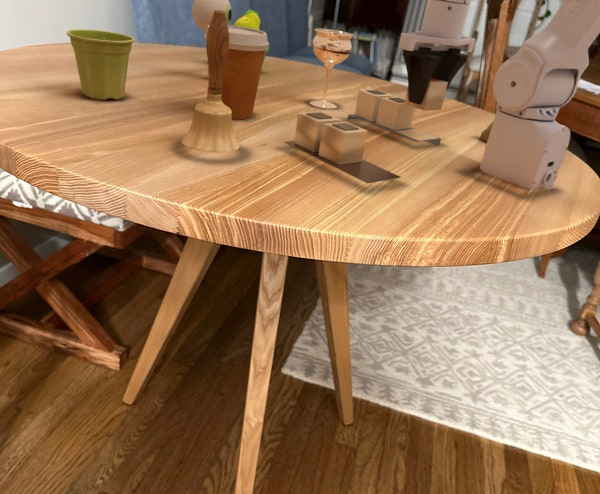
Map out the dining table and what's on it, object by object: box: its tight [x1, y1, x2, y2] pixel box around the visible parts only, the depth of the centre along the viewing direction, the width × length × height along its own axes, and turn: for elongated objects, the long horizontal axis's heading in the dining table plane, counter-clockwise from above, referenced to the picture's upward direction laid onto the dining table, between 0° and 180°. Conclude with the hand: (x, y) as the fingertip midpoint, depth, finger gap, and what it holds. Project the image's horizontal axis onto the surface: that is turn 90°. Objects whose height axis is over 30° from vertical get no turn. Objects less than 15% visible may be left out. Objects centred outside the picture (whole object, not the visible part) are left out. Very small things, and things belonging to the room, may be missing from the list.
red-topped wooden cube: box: [404, 77, 448, 112], centre depth 85 cm, size 4×4×4 cm
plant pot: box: [66, 29, 136, 101], centre depth 85 cm, size 9×9×9 cm
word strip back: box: [347, 88, 442, 146], centre depth 90 cm, size 15×6×5 cm, turn 39°
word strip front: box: [284, 111, 402, 184], centre depth 72 cm, size 16×6×5 cm, turn 39°
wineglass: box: [309, 28, 354, 109], centre depth 99 cm, size 7×7×12 cm
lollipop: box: [191, 0, 233, 80], centre depth 105 cm, size 7×7×15 cm
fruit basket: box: [233, 9, 270, 66], centre depth 119 cm, size 11×9×11 cm
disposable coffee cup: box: [203, 24, 270, 120], centre depth 85 cm, size 10×10×12 cm
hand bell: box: [181, 10, 241, 154], centre depth 67 cm, size 8×8×16 cm
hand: (424, 102), depth 85 cm, fingers closed on red-topped wooden cube, 4 cm apart
